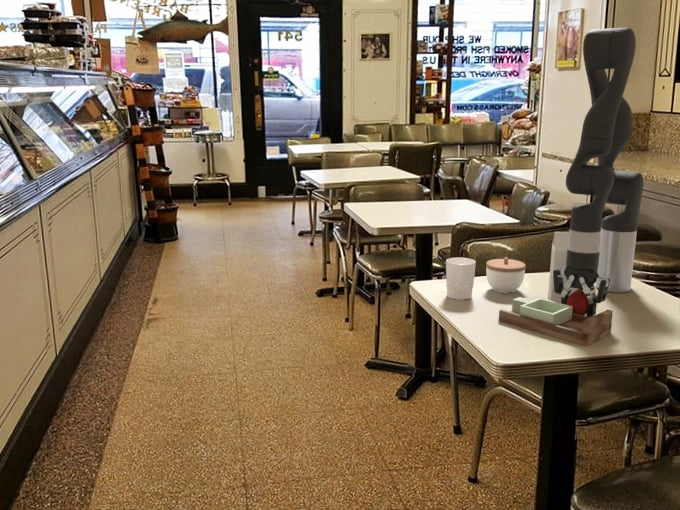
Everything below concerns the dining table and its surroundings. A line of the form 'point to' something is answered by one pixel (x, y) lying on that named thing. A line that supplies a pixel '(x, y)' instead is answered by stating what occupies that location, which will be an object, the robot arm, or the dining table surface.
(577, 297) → the onion
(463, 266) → the white cup
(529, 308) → the sled
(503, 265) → the lidded jar
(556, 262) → the milk carton
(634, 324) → the dining table surface
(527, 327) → the rail
